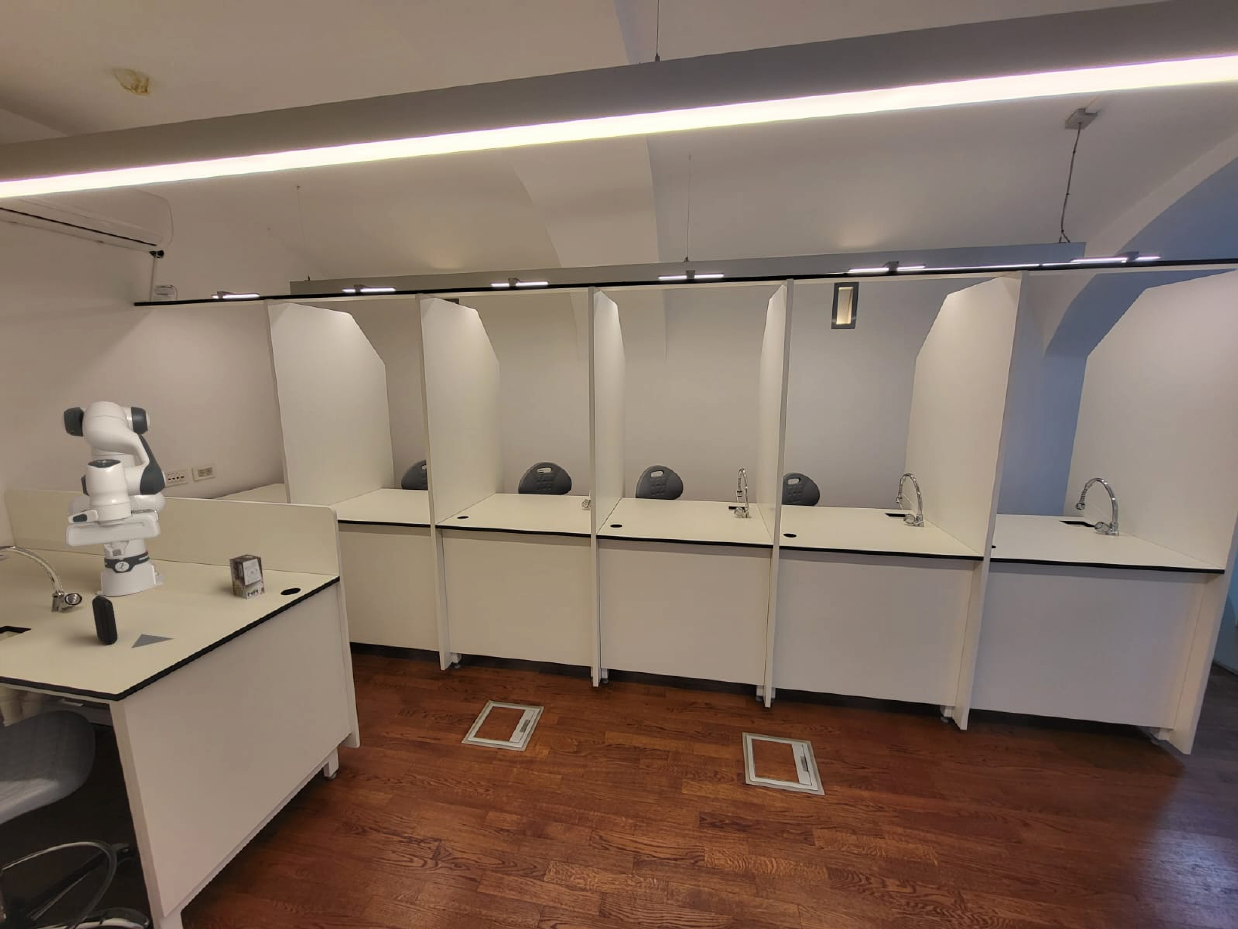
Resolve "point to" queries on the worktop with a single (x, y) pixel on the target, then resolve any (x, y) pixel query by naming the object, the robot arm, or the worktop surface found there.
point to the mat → (149, 640)
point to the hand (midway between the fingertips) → (118, 555)
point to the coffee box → (247, 576)
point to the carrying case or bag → (104, 620)
